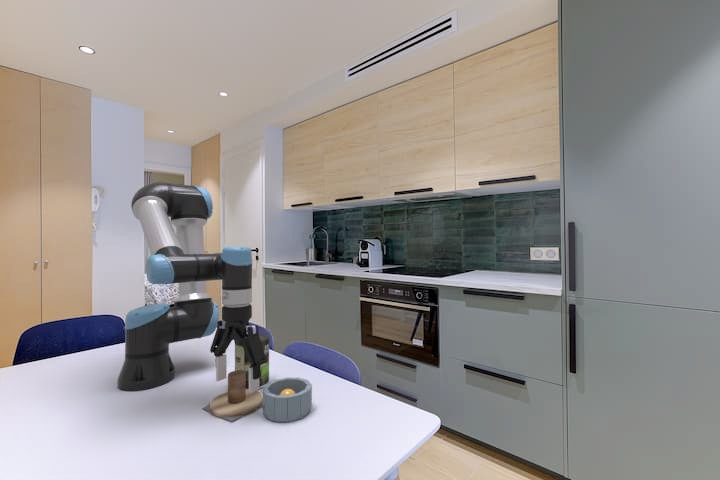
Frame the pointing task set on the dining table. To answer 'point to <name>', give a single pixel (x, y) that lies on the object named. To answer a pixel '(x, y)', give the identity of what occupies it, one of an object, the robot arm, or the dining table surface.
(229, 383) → the lid
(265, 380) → the coffee can
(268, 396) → the bowl
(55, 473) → the dining table surface
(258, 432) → the dining table surface
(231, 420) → the mat
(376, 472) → the dining table surface
